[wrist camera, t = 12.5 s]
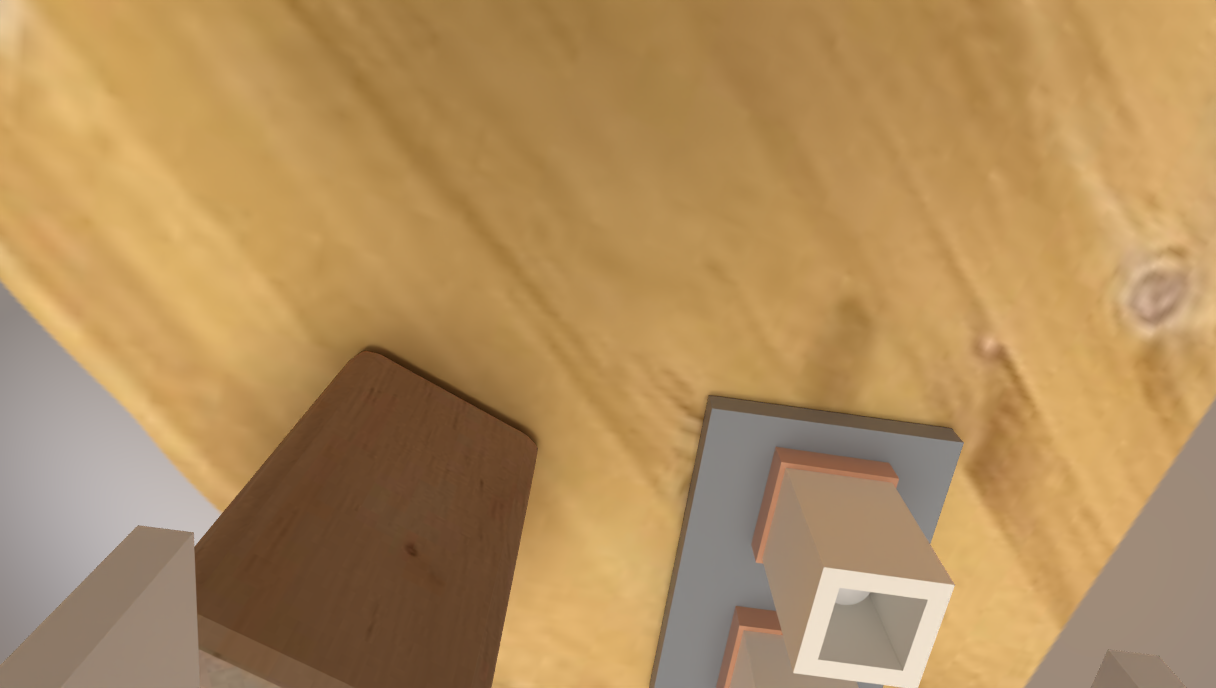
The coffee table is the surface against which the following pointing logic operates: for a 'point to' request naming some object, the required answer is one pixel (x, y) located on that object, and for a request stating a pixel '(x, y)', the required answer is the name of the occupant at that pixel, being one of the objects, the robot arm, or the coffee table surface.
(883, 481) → the sleeve
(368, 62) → the coffee table surface
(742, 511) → the pin board
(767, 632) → the sleeve
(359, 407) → the wooden block
